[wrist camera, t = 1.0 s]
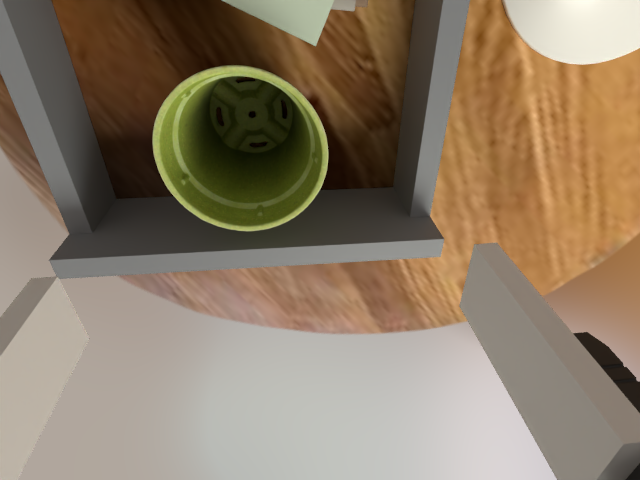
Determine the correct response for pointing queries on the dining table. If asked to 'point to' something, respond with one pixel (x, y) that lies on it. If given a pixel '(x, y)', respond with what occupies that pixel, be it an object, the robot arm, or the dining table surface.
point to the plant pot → (240, 148)
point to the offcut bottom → (361, 3)
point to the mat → (577, 28)
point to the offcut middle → (344, 5)
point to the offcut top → (290, 15)
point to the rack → (185, 227)
